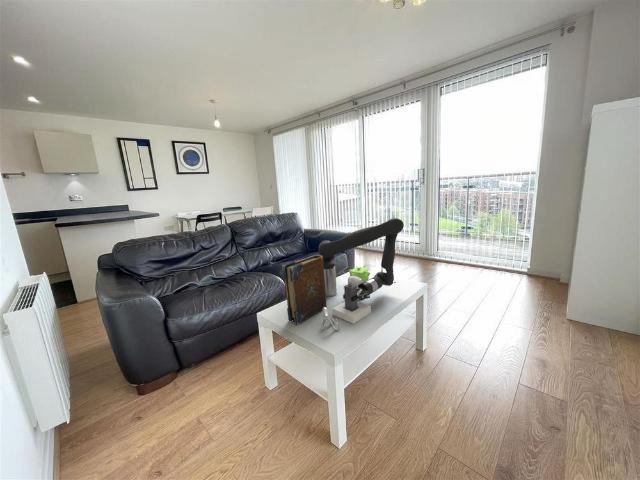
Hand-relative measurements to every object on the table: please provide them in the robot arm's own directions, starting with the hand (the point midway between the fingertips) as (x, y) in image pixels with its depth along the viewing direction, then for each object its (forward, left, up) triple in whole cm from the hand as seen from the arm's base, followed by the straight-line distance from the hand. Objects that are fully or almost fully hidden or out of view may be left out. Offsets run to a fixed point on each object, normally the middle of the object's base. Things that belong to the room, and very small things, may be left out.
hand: (347, 298), depth 129 cm
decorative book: (-21, -1, -10) cm, 23 cm away
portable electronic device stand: (-7, -12, -10) cm, 17 cm away
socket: (+1, +2, -9) cm, 10 cm away
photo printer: (0, +23, -10) cm, 25 cm away
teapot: (-1, +45, -10) cm, 46 cm away
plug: (+1, +2, -8) cm, 8 cm away
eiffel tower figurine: (+15, +47, -10) cm, 50 cm away
